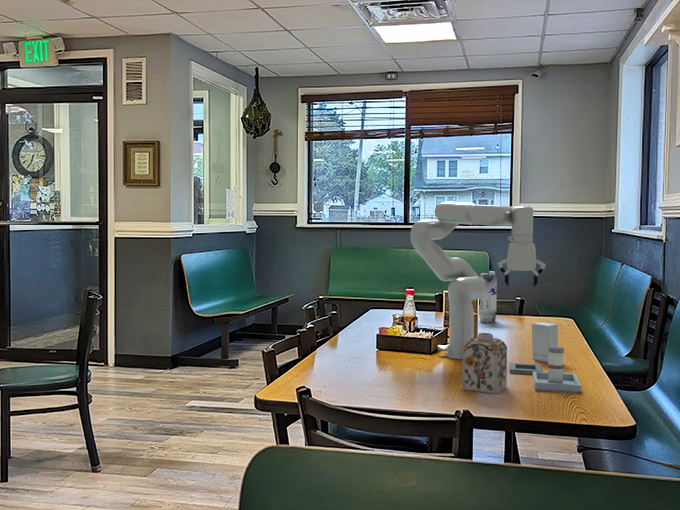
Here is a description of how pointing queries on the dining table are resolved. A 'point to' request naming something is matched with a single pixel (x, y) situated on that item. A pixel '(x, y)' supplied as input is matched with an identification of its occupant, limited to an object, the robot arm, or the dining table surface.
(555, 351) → the cylinder
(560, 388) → the tray
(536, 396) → the dining table surface
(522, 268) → the robot arm
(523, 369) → the socket
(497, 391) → the decorative jar
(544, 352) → the skincare box
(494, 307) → the juice carton
